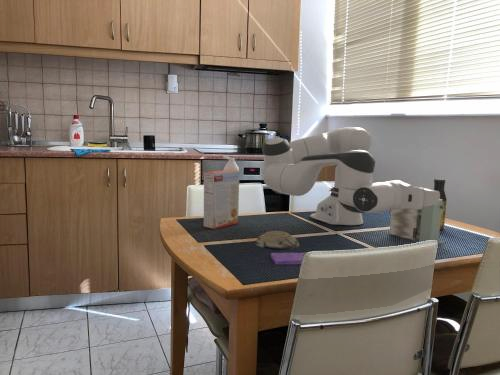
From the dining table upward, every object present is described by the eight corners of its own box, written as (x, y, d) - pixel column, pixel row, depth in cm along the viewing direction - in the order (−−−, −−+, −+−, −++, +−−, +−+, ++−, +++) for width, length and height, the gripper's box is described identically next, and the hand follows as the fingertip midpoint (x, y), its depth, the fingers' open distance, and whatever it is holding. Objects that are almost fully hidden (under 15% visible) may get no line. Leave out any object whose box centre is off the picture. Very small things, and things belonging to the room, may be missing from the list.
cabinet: (385, 235, 158) (389, 186, 156) (399, 231, 165) (404, 185, 162) (432, 246, 145) (437, 194, 142) (446, 242, 151) (451, 191, 149)
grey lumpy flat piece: (245, 242, 144) (273, 253, 132) (245, 231, 143) (274, 241, 131) (279, 237, 152) (309, 247, 140) (280, 226, 152) (309, 236, 140)
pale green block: (418, 241, 150) (423, 199, 148) (427, 238, 154) (431, 197, 152) (432, 244, 146) (437, 201, 144) (441, 242, 150) (445, 200, 148)
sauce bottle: (445, 230, 169) (450, 180, 166) (428, 229, 170) (433, 179, 167) (441, 227, 175) (446, 178, 172) (425, 225, 176) (430, 177, 173)
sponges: (318, 265, 122) (318, 259, 122) (275, 266, 120) (275, 259, 120) (311, 258, 129) (311, 252, 129) (270, 258, 127) (270, 252, 127)
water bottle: (240, 217, 178) (242, 157, 175) (227, 219, 175) (229, 158, 171) (229, 213, 185) (230, 156, 182) (216, 215, 181) (217, 156, 178)
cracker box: (227, 221, 171) (228, 169, 168) (238, 223, 167) (240, 170, 164) (202, 226, 160) (203, 171, 157) (213, 229, 157) (215, 173, 154)
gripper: (364, 199, 139) (388, 195, 148) (424, 210, 124) (447, 205, 133) (366, 180, 138) (390, 177, 147) (426, 189, 123) (449, 185, 132)
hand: (417, 191), depth 140 cm, fingers open, 8 cm apart
